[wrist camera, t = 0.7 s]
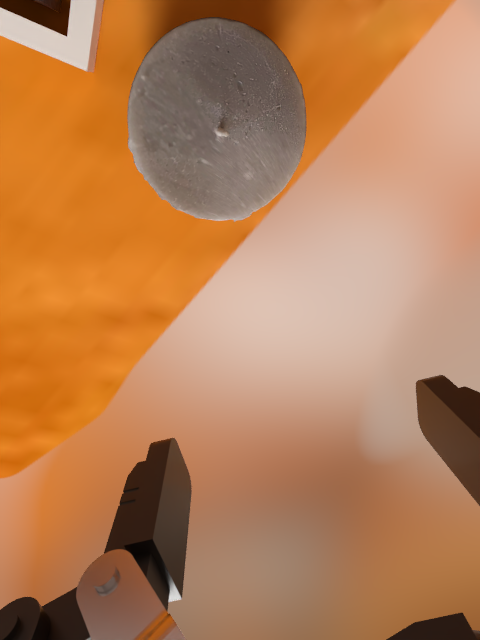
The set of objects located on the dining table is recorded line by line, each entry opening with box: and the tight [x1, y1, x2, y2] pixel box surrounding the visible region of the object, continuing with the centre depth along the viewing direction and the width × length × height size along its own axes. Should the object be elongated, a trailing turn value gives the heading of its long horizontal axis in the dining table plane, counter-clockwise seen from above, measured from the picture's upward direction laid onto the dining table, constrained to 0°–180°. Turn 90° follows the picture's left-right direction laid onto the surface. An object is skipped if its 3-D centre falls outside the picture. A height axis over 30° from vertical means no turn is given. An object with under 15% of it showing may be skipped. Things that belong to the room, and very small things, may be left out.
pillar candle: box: [128, 17, 306, 221], centre depth 24 cm, size 10×10×15 cm
